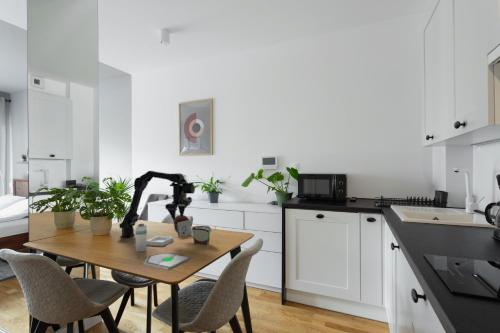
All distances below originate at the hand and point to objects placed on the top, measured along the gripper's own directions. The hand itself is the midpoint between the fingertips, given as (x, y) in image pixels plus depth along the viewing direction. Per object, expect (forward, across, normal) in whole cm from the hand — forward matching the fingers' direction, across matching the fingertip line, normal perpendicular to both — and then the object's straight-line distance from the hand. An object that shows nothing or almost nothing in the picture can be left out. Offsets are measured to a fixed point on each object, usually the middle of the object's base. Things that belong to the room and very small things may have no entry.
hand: (177, 218), depth 157 cm
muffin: (+13, +23, +11) cm, 29 cm away
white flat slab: (+14, -34, -12) cm, 39 cm away
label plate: (+13, +9, -6) cm, 17 cm away
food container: (+13, -5, -20) cm, 25 cm away
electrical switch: (+13, +9, +1) cm, 16 cm away
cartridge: (+13, -24, +8) cm, 28 cm away
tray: (+13, -10, +6) cm, 17 cm away
